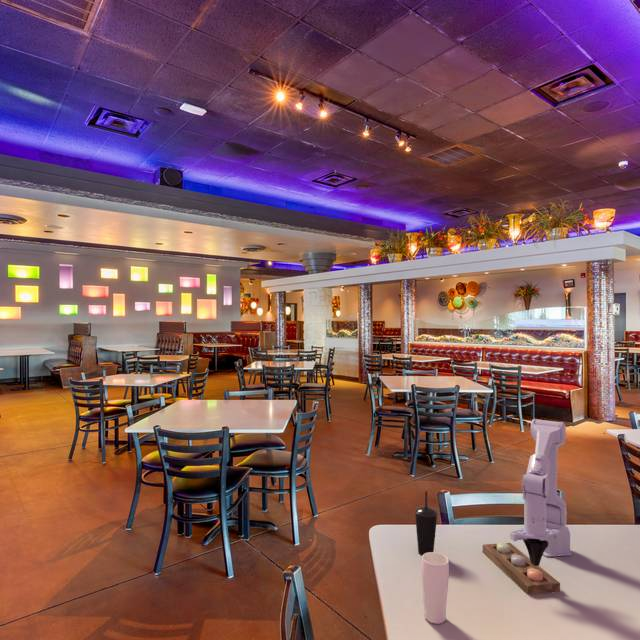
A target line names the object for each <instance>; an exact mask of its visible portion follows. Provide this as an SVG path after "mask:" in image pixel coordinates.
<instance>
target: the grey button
mask: <svg viewBox="0 0 640 640" xmlns="http://www.w3.org/2000/svg"><path fill="white" fill-rule="evenodd" d="M511 564H513V565H514V566H515V567H524V566H525V558H524V557H523V556H520V555H512V556H511Z"/></svg>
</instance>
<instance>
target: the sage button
mask: <svg viewBox="0 0 640 640" xmlns="http://www.w3.org/2000/svg"><path fill="white" fill-rule="evenodd" d="M506 543H507V542H498V543H496V544H497V551H498V552H499V553H500V554H506V553H510V546H509V545H508V544H506Z"/></svg>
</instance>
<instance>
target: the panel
mask: <svg viewBox="0 0 640 640" xmlns="http://www.w3.org/2000/svg"><path fill="white" fill-rule="evenodd" d="M505 543H506V544H508V545H509V546H510V553H506V554H500V553H499V552H498V551H497V543H490V544H489V543H487V544H482V554H484V556H486V557H487V558H488V559H489V560H490V561H491V562H492V563H493V564H494V565H495V566H496V567H497V568H499V570H501V572H503V573H504V574H505V575H506V576H507V577H508V578H509V579H510V580H511V581H512V582H513V583H515V584H516V586H518V587H519V588H520V589H521V590H522V591H523V592H524V593H525V594H526V595H527V596H529V595H530V596H531V595H541V594H552V592H555V593H560V592H561V582H560V581H558V580H557V579H556V578H554V577H553V576H552V575H551V574H550V573H548V572H547V571H546V570H545V569H544V568H542V567H541V566H540V565H539V566H534V565H533V564H532V563H531V561H530V557H528V556H527V555H526V553H525V554H524V552H522V551H521V550H520V549H519V548H517V547H516V546H515V545H514V544H512V543H511V542H505ZM512 555H520V556H523V557H524V558H525V566H524V567H515V566H514V565H513V564H511V556H512ZM529 568H534V569H538V570H540V571H541V572H542V573H543V581H539V582H532V581H531V580H530V579H528V578H527V570H528V569H529Z"/></svg>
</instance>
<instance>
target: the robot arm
mask: <svg viewBox="0 0 640 640" xmlns="http://www.w3.org/2000/svg"><path fill="white" fill-rule="evenodd" d="M566 430H567V428H566V424H565V422H564V421H556V420H555V421H553V420H545V419H544V420H543V419H537V418H533V419H532V420H531V422H530V436H531V437H532V439H533V440H534V441H535V451H534V454H532V455H530V457H529V459H528V465H527V469H526V472H525V473H526V474H525V473H523V475H522V479H521V490H522V499H523V500H524V501H523V502H524V503H523V504H524V505H523V507H524V508H523V510H524V511H523V514H524V516H523V519H524V521H523V522H524V523H523V528H520V529H517V530H514V531H509V537H510V540H512V541H513V542H518V541H522V542H523V543H524V546H525V547H526V550H527V552H528V556H529V557H528V558H530V561H531V563H532V564H533V565H534V566H540V563H541V560H542V557H543V556H545V557H547V558H550V557H551V558H552V557H563V556H566V557H567V556H572V555H573V553H572V552H571V533H570V529H569V527H568V526H567V522H568V521H567V518H568V510H567V503H566V501H565V500H564V499H563V498H562V497H561V496H560V495H558V451H559V447H561V446H566V445H565V443H566V433H567V431H566Z"/></svg>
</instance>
